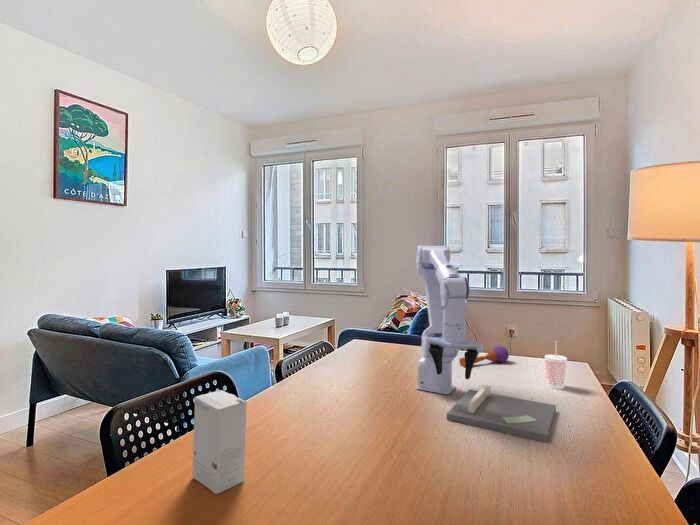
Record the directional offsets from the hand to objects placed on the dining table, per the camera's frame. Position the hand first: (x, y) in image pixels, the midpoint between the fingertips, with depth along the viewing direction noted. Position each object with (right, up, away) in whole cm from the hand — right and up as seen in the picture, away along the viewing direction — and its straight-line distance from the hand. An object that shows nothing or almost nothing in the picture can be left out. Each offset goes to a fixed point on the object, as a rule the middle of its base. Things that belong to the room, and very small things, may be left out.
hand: (453, 375), depth 106 cm
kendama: (+22, -8, +42) cm, 48 cm away
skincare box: (-50, -10, -33) cm, 61 cm away
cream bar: (+7, -7, -1) cm, 9 cm away
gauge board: (+11, -9, -4) cm, 15 cm away
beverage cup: (+35, -8, +17) cm, 40 cm away
